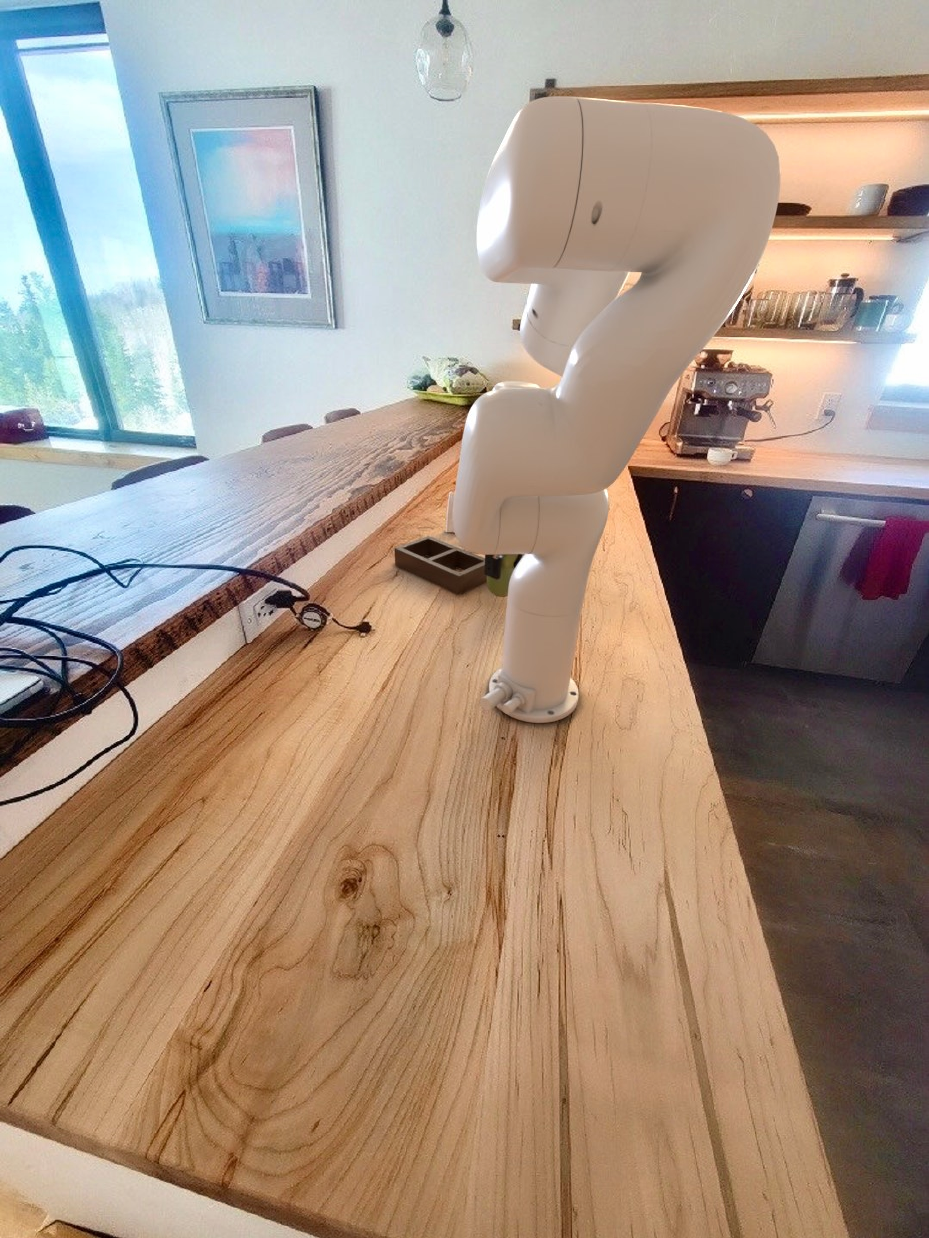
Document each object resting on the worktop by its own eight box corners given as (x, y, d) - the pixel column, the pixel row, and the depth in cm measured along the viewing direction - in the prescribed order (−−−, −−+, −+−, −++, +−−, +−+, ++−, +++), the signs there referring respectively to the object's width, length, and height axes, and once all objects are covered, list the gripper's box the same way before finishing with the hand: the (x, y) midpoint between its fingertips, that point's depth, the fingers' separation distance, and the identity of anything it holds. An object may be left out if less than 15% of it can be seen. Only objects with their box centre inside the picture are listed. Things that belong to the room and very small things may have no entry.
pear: (498, 585, 95) (502, 535, 90) (521, 594, 92) (527, 543, 87) (480, 595, 91) (483, 544, 86) (504, 605, 88) (508, 553, 83)
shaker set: (495, 532, 125) (498, 488, 119) (492, 538, 122) (495, 493, 116) (449, 526, 127) (450, 483, 122) (444, 532, 124) (445, 488, 118)
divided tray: (458, 595, 96) (459, 576, 94) (395, 565, 107) (394, 547, 105) (491, 579, 103) (492, 561, 101) (428, 552, 113) (428, 535, 111)
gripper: (494, 484, 72) (487, 595, 81) (560, 463, 83) (547, 563, 92) (456, 473, 76) (454, 579, 86) (524, 455, 87) (515, 551, 97)
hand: (502, 570), depth 89 cm, fingers closed on pear, 5 cm apart
